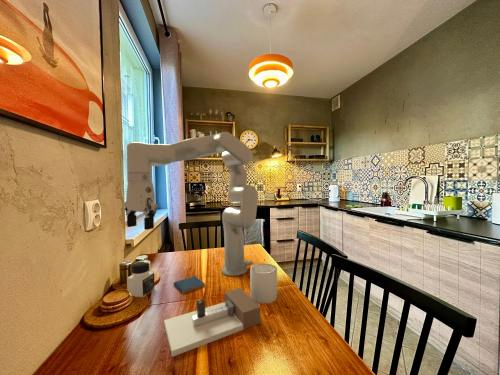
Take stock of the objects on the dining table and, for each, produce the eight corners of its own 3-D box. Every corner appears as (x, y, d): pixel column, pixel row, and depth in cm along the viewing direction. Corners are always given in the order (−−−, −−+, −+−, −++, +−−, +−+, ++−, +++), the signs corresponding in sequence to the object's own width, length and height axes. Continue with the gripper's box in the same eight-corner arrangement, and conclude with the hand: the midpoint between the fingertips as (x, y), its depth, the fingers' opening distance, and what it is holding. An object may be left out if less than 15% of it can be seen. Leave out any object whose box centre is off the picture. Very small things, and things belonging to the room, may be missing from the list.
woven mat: (206, 287, 91) (206, 282, 91) (181, 296, 84) (181, 290, 84) (195, 279, 99) (195, 274, 99) (172, 286, 92) (172, 281, 92)
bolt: (193, 327, 62) (193, 306, 62) (191, 322, 65) (191, 302, 64) (231, 314, 68) (231, 295, 68) (228, 310, 70) (228, 292, 70)
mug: (244, 288, 89) (243, 262, 89) (266, 284, 92) (266, 259, 92) (256, 305, 76) (256, 275, 76) (282, 300, 80) (281, 271, 79)
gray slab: (172, 356, 54) (171, 337, 54) (164, 325, 66) (163, 308, 66) (260, 323, 67) (260, 307, 67) (240, 301, 79) (239, 288, 79)
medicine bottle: (143, 297, 82) (142, 266, 82) (126, 296, 84) (126, 265, 83) (155, 288, 89) (154, 260, 89) (139, 287, 91) (139, 259, 90)
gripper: (165, 178, 74) (165, 228, 75) (134, 179, 83) (135, 223, 83) (145, 177, 68) (146, 232, 68) (114, 178, 76) (115, 227, 77)
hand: (140, 227), depth 76 cm, fingers open, 9 cm apart
